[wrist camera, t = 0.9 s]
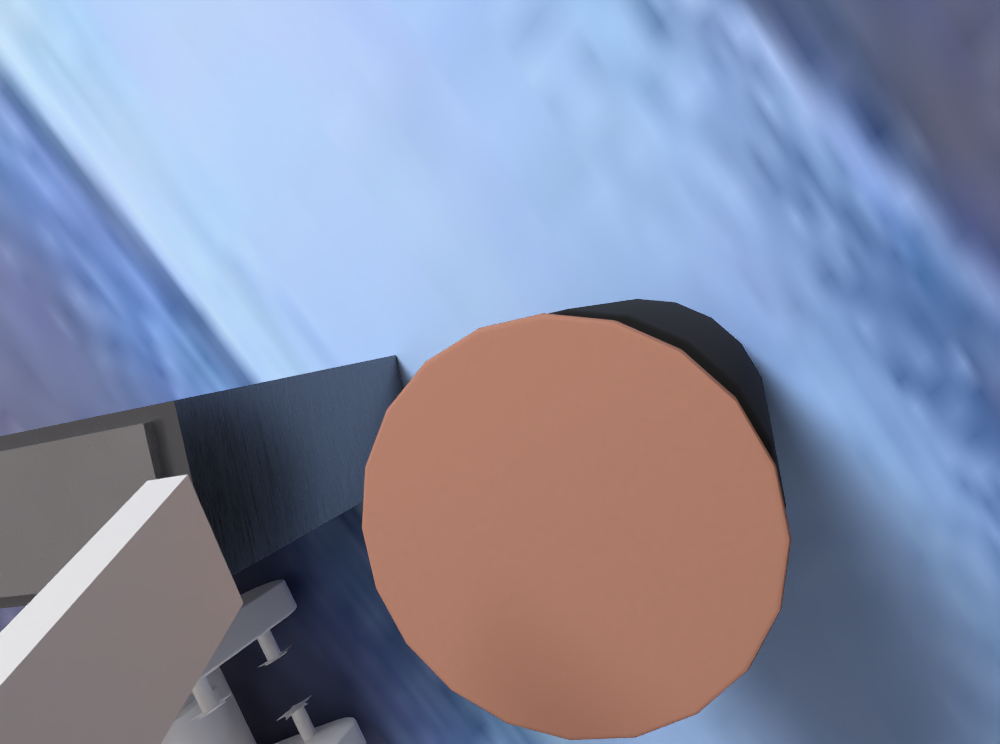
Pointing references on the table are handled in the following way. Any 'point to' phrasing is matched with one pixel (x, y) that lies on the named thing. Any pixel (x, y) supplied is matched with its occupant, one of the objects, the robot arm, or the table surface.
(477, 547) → the coffee jar
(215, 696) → the cable organizer
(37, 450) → the box
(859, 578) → the table surface
